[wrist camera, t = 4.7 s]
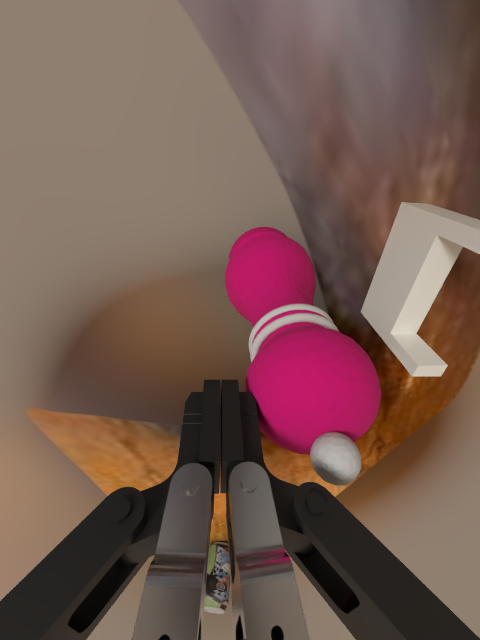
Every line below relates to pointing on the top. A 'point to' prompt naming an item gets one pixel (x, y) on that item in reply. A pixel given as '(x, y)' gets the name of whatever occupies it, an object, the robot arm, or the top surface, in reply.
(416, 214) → the u rest
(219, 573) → the beverage can
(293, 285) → the pepper mill
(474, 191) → the top surface
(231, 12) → the top surface
